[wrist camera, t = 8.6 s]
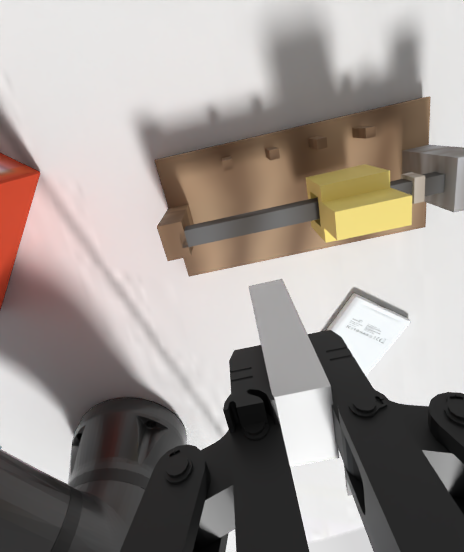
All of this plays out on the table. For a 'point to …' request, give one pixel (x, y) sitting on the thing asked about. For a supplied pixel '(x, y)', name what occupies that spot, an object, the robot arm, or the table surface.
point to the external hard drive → (367, 330)
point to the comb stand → (297, 185)
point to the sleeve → (357, 203)
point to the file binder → (13, 212)
